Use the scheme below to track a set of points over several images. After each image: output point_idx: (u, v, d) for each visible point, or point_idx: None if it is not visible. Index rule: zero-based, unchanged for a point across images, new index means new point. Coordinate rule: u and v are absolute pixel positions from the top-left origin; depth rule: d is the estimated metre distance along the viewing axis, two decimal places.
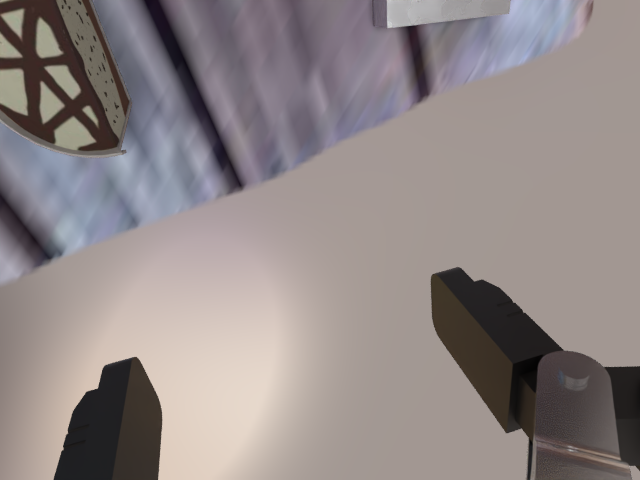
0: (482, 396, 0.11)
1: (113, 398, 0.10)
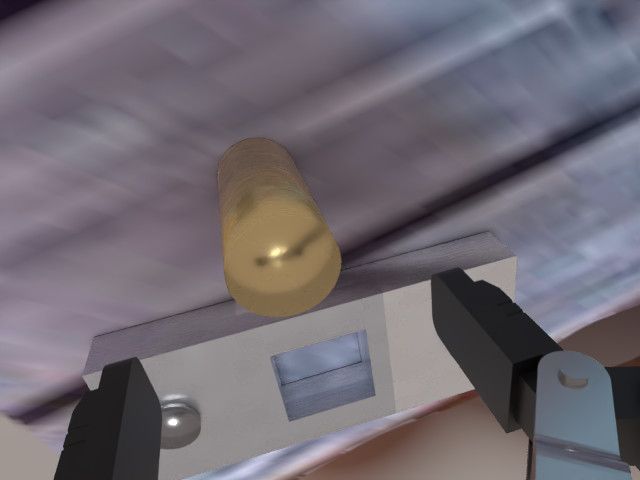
0: (482, 396, 0.11)
1: (113, 398, 0.10)
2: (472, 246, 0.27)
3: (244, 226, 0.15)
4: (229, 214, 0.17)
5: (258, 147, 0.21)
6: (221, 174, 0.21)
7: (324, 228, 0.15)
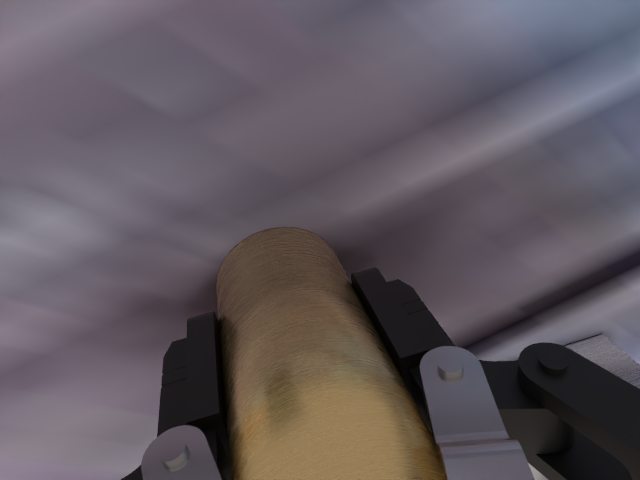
0: None
1: (203, 343, 0.11)
2: None
3: None
4: (248, 451, 0.08)
5: (287, 252, 0.12)
6: (225, 300, 0.12)
7: None
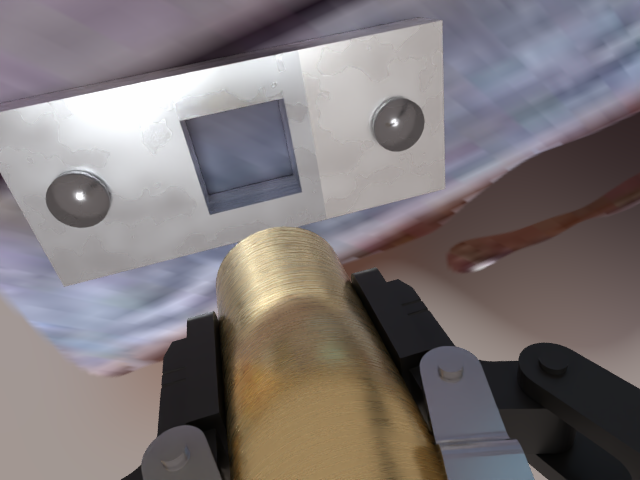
0: None
1: (203, 343, 0.11)
2: (399, 23, 0.26)
3: None
4: (248, 450, 0.08)
5: (287, 252, 0.12)
6: (224, 299, 0.12)
7: None
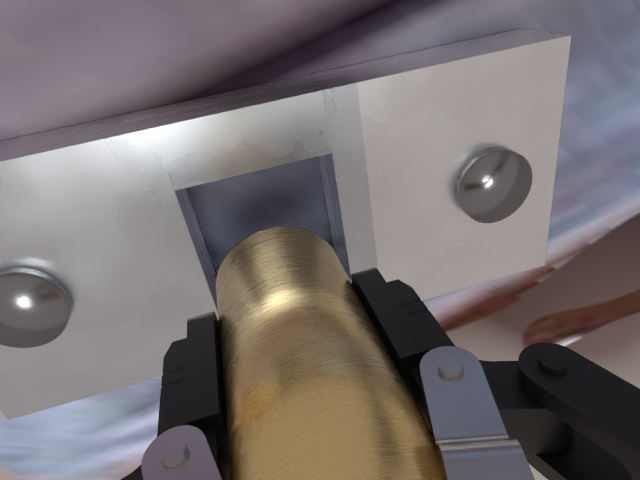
0: None
1: (203, 343, 0.11)
2: (497, 39, 0.18)
3: None
4: (248, 449, 0.08)
5: (287, 252, 0.12)
6: (224, 299, 0.12)
7: None
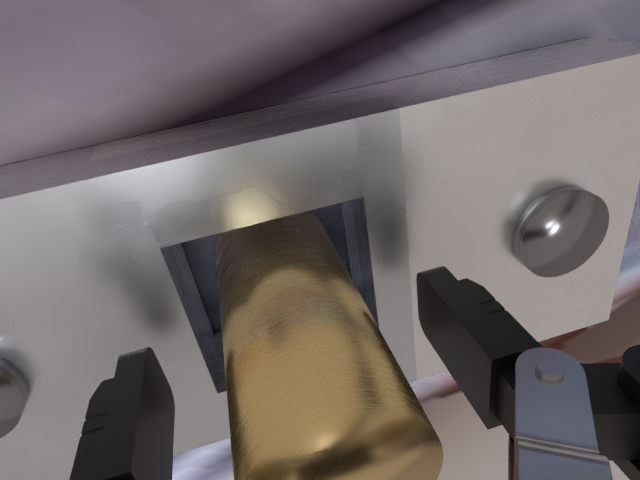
0: (465, 393, 0.11)
1: (129, 386, 0.10)
2: (567, 50, 0.14)
3: (275, 424, 0.08)
4: (241, 368, 0.10)
5: (278, 219, 0.14)
6: (223, 260, 0.14)
7: (420, 419, 0.08)
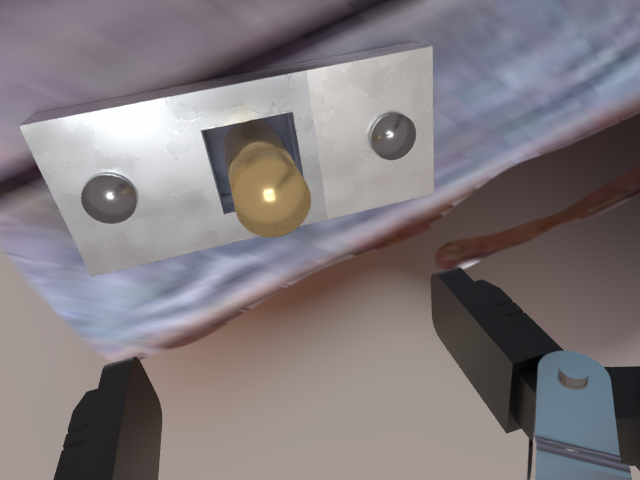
0: (482, 396, 0.11)
1: (113, 398, 0.10)
2: (394, 47, 0.29)
3: (248, 172, 0.23)
4: (236, 168, 0.25)
5: (254, 126, 0.29)
6: (228, 145, 0.29)
7: (300, 175, 0.23)
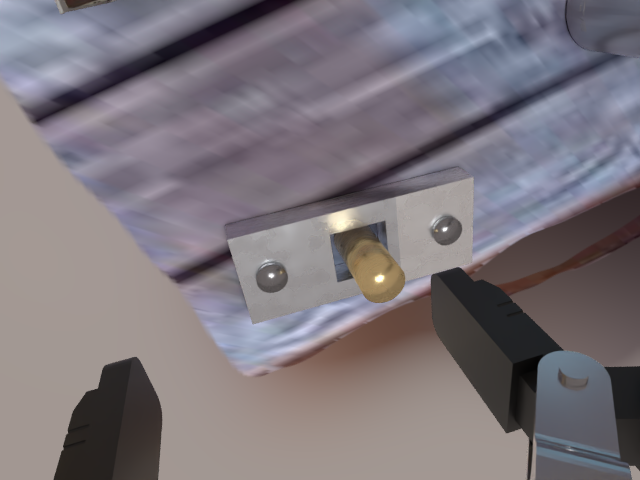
0: (482, 396, 0.11)
1: (113, 398, 0.10)
2: (448, 174, 0.45)
3: (370, 266, 0.39)
4: (358, 260, 0.40)
5: None
6: (341, 238, 0.45)
7: (400, 267, 0.39)
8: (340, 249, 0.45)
